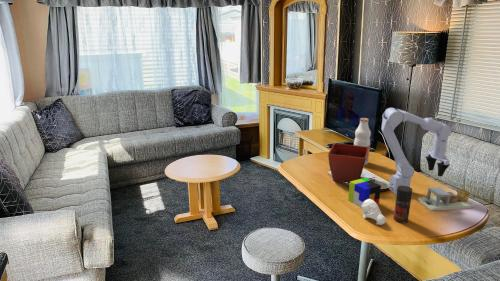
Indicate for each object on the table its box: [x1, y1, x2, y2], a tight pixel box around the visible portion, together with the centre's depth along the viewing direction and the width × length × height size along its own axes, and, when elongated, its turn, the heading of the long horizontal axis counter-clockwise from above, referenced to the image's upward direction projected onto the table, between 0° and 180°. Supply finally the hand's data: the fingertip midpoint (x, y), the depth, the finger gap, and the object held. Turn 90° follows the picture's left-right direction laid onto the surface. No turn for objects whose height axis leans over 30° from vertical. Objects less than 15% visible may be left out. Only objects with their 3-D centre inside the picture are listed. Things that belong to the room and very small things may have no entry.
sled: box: [440, 188, 471, 203], centre depth 177 cm, size 12×4×5 cm, turn 99°
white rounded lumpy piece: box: [361, 199, 387, 226], centre depth 161 cm, size 6×8×12 cm
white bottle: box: [353, 117, 372, 166], centre depth 224 cm, size 9×9×28 cm
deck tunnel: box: [417, 186, 474, 212], centre depth 176 cm, size 21×11×7 cm, turn 99°
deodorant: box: [393, 186, 413, 224], centre depth 161 cm, size 6×6×15 cm
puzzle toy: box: [347, 177, 382, 209], centre depth 177 cm, size 10×10×10 cm
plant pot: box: [327, 143, 370, 184], centre depth 203 cm, size 19×19×17 cm
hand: (435, 173), depth 187 cm, fingers open, 7 cm apart
